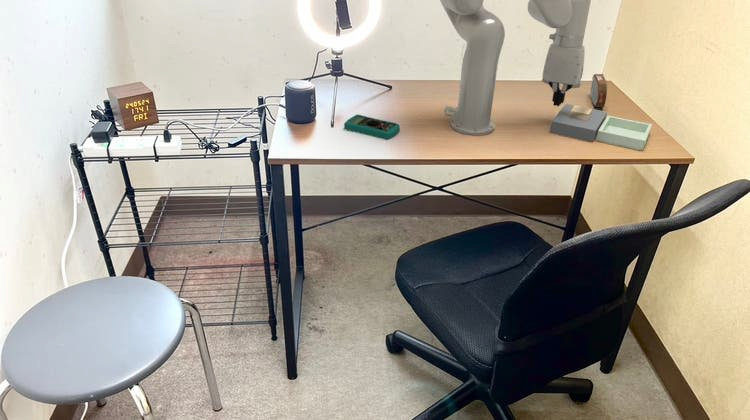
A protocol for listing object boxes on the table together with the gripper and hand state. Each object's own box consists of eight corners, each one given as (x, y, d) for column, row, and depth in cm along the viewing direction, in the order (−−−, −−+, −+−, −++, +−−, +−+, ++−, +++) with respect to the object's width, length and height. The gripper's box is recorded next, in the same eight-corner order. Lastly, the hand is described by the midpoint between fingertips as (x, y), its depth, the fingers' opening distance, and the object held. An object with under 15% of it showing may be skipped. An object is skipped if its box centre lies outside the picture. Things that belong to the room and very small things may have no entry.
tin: (603, 111, 171) (610, 85, 167) (593, 111, 172) (599, 84, 167) (597, 95, 184) (603, 70, 179) (587, 94, 184) (593, 69, 180)
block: (569, 117, 157) (570, 110, 156) (573, 111, 161) (574, 105, 160) (587, 121, 155) (588, 114, 154) (591, 115, 159) (592, 108, 158)
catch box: (595, 140, 152) (598, 130, 151) (605, 125, 162) (607, 115, 160) (642, 151, 147) (645, 140, 146) (649, 134, 157) (652, 124, 155)
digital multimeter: (389, 142, 150) (390, 132, 149) (343, 130, 156) (342, 121, 155) (401, 132, 156) (402, 123, 154) (355, 122, 162) (356, 112, 160)
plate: (549, 132, 157) (551, 121, 155) (563, 114, 168) (566, 103, 166) (592, 142, 151) (595, 130, 150) (604, 123, 163) (607, 111, 161)
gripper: (537, 40, 151) (528, 104, 161) (593, 47, 145) (580, 113, 154) (545, 34, 157) (535, 96, 166) (600, 40, 150) (586, 105, 160)
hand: (557, 104), depth 160 cm, fingers closed
